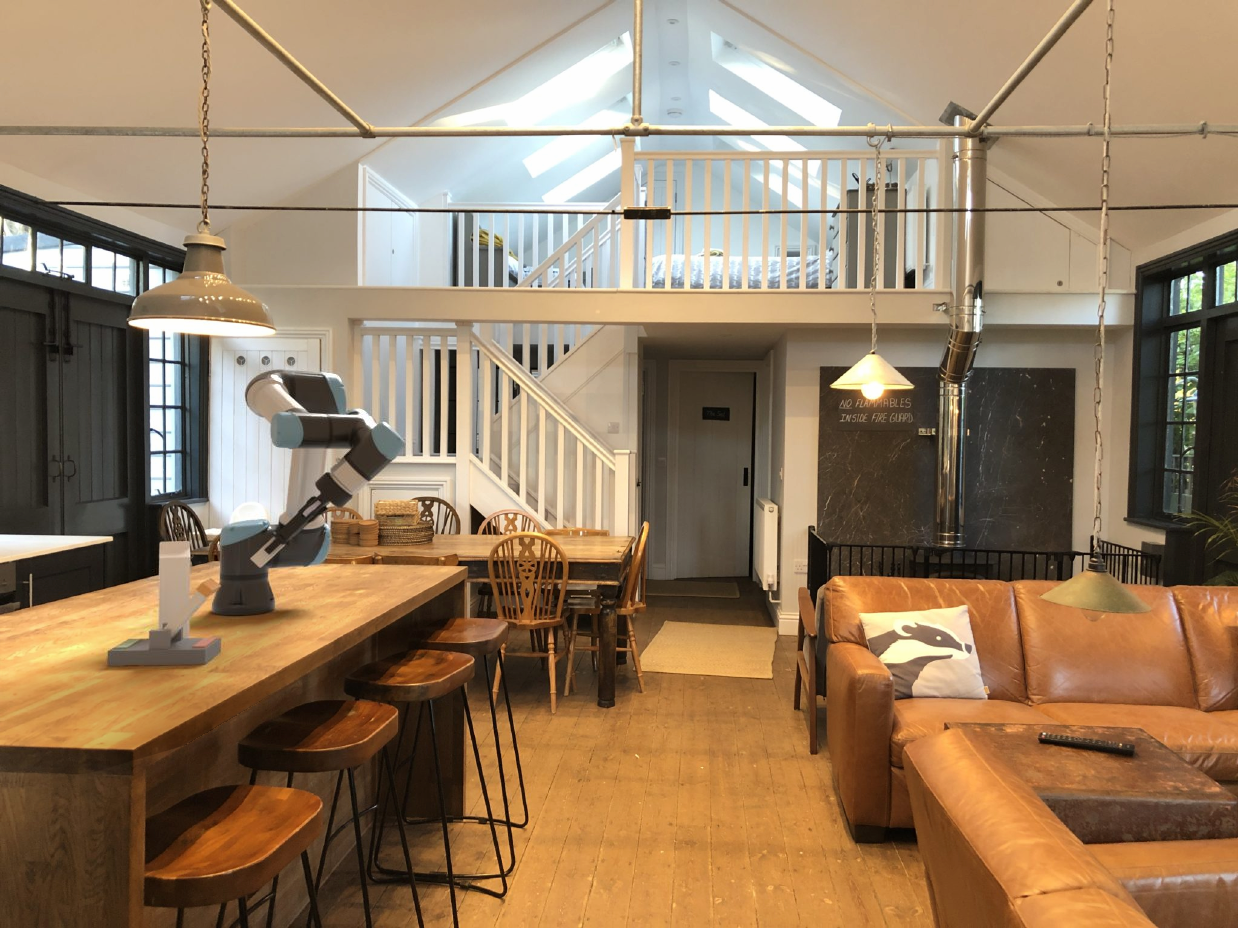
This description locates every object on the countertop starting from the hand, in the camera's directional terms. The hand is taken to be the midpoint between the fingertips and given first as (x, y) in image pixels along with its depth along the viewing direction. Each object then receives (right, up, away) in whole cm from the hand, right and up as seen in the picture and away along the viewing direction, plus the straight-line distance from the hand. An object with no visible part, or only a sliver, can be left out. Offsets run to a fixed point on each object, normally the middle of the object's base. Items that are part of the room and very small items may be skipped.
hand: (256, 562), depth 172 cm
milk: (-24, -19, +13) cm, 33 cm away
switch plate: (-17, -19, -2) cm, 26 cm away
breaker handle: (-18, -15, -2) cm, 24 cm away
